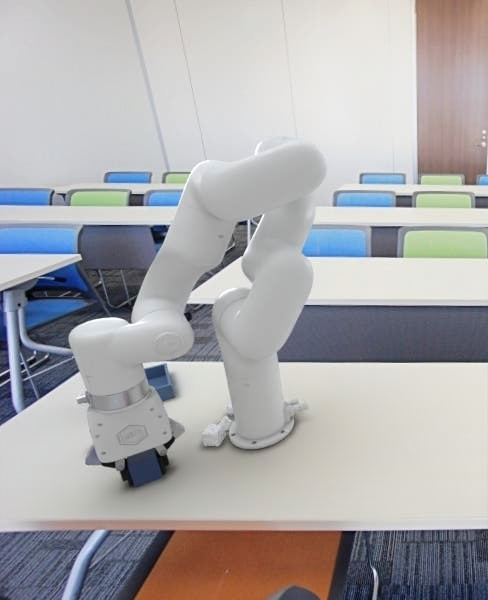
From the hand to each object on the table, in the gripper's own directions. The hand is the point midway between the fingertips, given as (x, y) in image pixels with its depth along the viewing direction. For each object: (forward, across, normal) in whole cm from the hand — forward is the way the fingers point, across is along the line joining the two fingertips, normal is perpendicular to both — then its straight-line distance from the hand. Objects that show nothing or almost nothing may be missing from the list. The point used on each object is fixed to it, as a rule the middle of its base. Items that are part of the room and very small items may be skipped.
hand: (147, 473), depth 72 cm
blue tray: (0, 0, +29) cm, 29 cm away
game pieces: (0, +14, +6) cm, 15 cm away
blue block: (0, 0, 0) cm, 0 cm away
